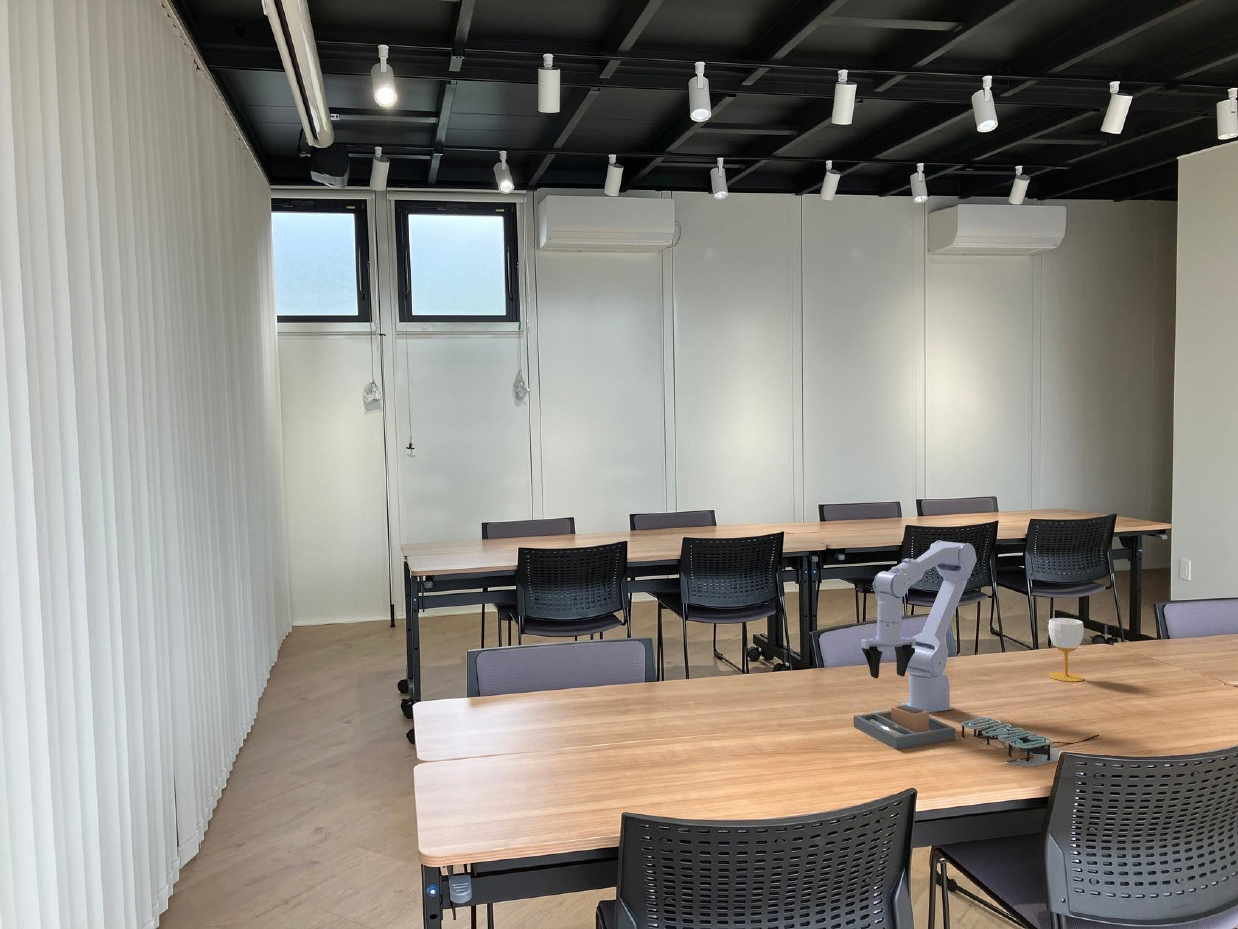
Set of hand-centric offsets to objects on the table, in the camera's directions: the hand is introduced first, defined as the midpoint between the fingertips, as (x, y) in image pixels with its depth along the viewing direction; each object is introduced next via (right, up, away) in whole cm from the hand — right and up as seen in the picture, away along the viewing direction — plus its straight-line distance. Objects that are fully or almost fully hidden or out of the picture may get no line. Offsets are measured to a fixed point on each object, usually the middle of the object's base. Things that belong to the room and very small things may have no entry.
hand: (887, 676), depth 208 cm
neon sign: (+27, -11, -17) cm, 34 cm away
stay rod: (-5, -10, -13) cm, 17 cm away
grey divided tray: (0, -11, -11) cm, 15 cm away
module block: (+2, -10, -10) cm, 14 cm away
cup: (+61, -8, +32) cm, 69 cm away
